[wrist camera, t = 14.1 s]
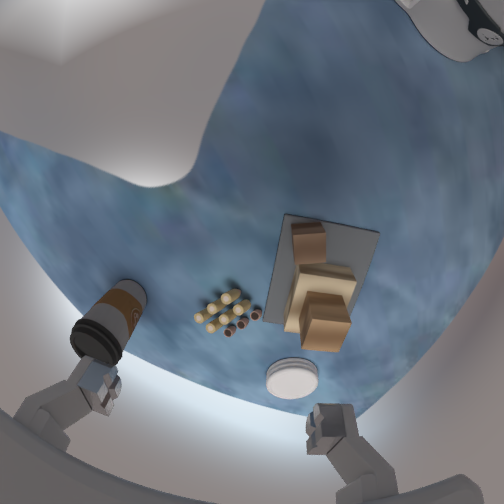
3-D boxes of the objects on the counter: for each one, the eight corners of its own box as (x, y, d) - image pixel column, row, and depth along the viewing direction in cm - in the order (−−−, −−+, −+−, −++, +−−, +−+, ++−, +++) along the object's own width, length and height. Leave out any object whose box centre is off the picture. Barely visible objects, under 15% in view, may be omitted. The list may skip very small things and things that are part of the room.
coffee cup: (153, 318, 46) (119, 379, 32) (113, 305, 46) (73, 360, 32) (153, 280, 42) (112, 341, 29) (110, 267, 42) (61, 320, 29)
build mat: (284, 213, 36) (284, 215, 36) (378, 232, 36) (380, 233, 36) (262, 319, 44) (262, 321, 43) (342, 329, 44) (343, 331, 43)
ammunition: (191, 319, 39) (228, 350, 41) (226, 293, 37) (264, 328, 39) (198, 300, 43) (231, 330, 46) (230, 276, 41) (265, 309, 43)
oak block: (307, 290, 36) (312, 318, 30) (342, 295, 36) (351, 323, 30) (298, 319, 38) (301, 348, 32) (331, 323, 38) (338, 352, 32)
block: (290, 224, 36) (293, 235, 32) (320, 222, 36) (325, 232, 32) (292, 251, 38) (294, 264, 34) (321, 249, 37) (326, 262, 34)
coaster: (305, 390, 52) (306, 402, 49) (260, 382, 52) (259, 395, 48) (325, 361, 48) (327, 374, 45) (276, 351, 47) (275, 365, 44)
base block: (297, 259, 38) (300, 273, 35) (350, 267, 38) (357, 281, 35) (283, 314, 42) (284, 331, 39) (330, 320, 42) (334, 336, 39)
